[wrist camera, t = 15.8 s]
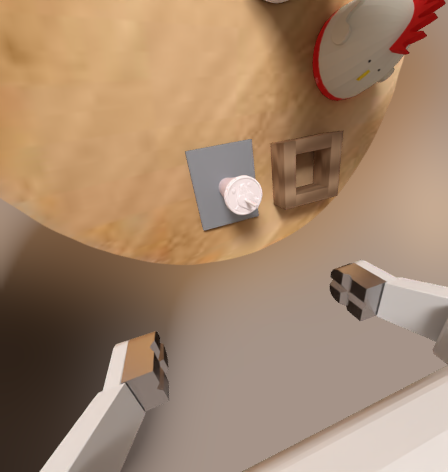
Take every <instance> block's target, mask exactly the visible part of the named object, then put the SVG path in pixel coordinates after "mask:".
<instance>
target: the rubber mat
mask: <svg viewBox="0 0 448 472" xmlns="http://www.w3.org/2000/svg"><path fill="white" fill-rule="evenodd" d="M185 154H186V158H187V163H188V167H189V171H190V175H191V180H192V184H193V188H194V193H195V197H196V201H197V205H198V210H199V214H200V218H201V223H202V227H203V230H208V229H212V228H216V227H219V226H223V225H227V224H230V223H234V222H238V221H242V220H245V219H249V218H253V217H257V216H259V214H258V208H256V209H255V210H254V211H253V212H251V213H249V214H247V215H238V214H235V213H234V212H232V211H231V210H230V209H229V208H228V207H227V205H226V204H225V200H224V198H223V196H222V194H221V193H220V191H219V183H220V182H221V180H222V179H224V178H234V177H238V176H241V175H247V176H250V177H252V178H254V179H255V171H254V160H253V149H252V139H248V140H243V141H238V142H232V143H227V144H222V145H217V146H211V147H206V148H201V149H195V150H190V151H185Z"/></svg>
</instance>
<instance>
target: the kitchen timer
mask: <svg viewBox="0 0 448 472" xmlns="http://www.w3.org/2000/svg"><path fill="white" fill-rule="evenodd" d="M443 5H445V1H444V0H353V1H352V2H350V3H348V4H346V5H345V6H343V7H341V8H340V9H339V10H337V11H336V12H335V13H334V14H332V16H331V17H330V18H329V19H328V20H327V21H326V22H325V23H324V25H323V27H322V29H321V31H320V33H319V35H318V37H317V40H316V44H315V47H314V53H313V73H314V78H315V81H316V84H317V87H318V88H319V90H320V91H321V93H322V94H323V95H324V96H326V97H327V98H329V99H331V100H336V101H338V100H343V99H347V98H351V97H353V96H355V95H357V94H359V93H361V92H362V91H364V90H366V89H367V88H369V87H370V86H372V85H373V84H375V83H376V82H378V83H379V82H383V81H385V80H386V79H387V78H388V77H390V76H391V75H392V73H393V72H394V68H393V67H394V66H395V65H396V64H397V63H398V62H399V61H400V59H401V58H402V57H403V55H404V54H409V52H408V51H407V49H408V48H409V46H410V44H412V43H414V42H416V41H418V40H421V39H423V38H424V37H426V36H427V35H426V34H425V33H424V31H418V30H420V29H421V28H423V27H425V26H426V25H428V24H430V23H431V22H432V21H434V20H436V19H437V18H438V17H437V16H436V14H435V13H433V12H434V11H436V10H437V9H439V8H440V7H442V6H443Z"/></svg>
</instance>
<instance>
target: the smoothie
mask: <svg viewBox="0 0 448 472" xmlns="http://www.w3.org/2000/svg"><path fill="white" fill-rule="evenodd" d="M219 191H220V193H221V194H222V196H223V198H224V200H225V204H226V205H227V207H228V208H229V209H230V210H231V211H232V212H234V213H235V214H238V215H247V214H249V213H251V212H253V211H254V210H255V209H256V208H258V207H259V204H260V202H261V199H262V188H261V186H260V184H259V182H258V181H257V180H255V179H254V178H252V177H250V176H247V175H241V176H238V177H234V178H224V179H222V180H221V182H220V183H219Z"/></svg>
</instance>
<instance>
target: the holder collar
mask: <svg viewBox="0 0 448 472" xmlns="http://www.w3.org/2000/svg"><path fill="white" fill-rule="evenodd" d="M342 138H343V131H337V132H328V133H321V134H316V135H311V136H306V137H301V138H296V139H291V140H286V141H281V142H276V143H271V161H272V180H273V198H274V204H275V205H277V206H279V207H281V208H283V209H285V210H286V209H290V208H294V207H297V206H301V205H305V204H308V203H312V202H316V201H320V200H323V199H327V198H331V197H334V196H337V194H338V183H339V172H340V160H341V149H342ZM310 151H314V167H313V184H310V185H306V186H302V187H298V188H296V154H301V153H306V152H310Z"/></svg>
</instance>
